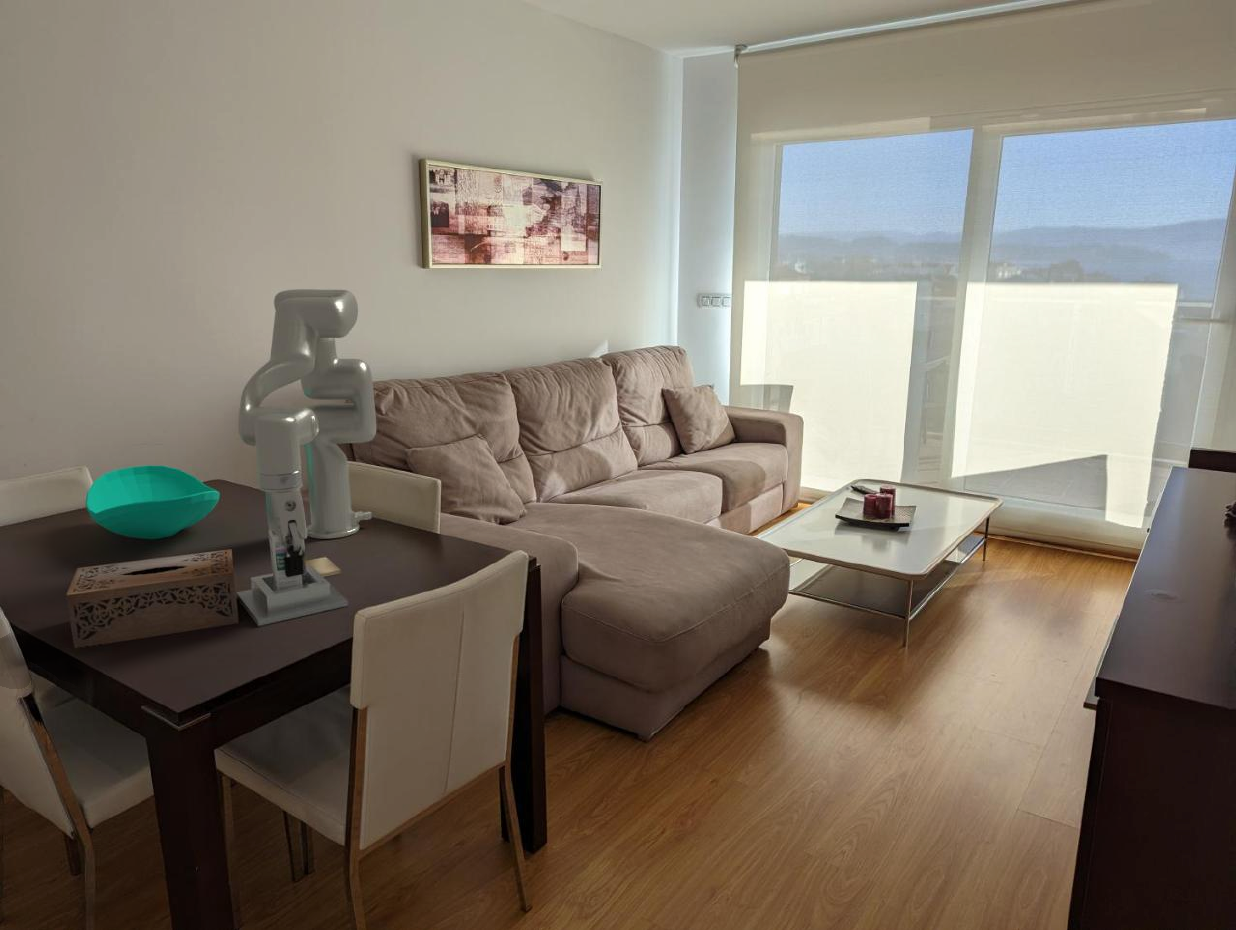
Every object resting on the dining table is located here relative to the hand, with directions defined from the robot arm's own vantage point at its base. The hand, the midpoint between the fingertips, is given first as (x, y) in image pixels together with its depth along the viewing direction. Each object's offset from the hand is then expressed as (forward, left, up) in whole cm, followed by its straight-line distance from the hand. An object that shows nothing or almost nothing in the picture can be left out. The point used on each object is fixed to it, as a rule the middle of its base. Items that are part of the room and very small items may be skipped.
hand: (289, 569), depth 165 cm
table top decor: (+14, -62, -7) cm, 64 cm away
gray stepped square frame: (0, 0, -7) cm, 7 cm away
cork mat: (-8, -15, -7) cm, 18 cm away
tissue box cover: (+22, -5, -7) cm, 24 cm away
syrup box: (0, 0, -7) cm, 7 cm away
